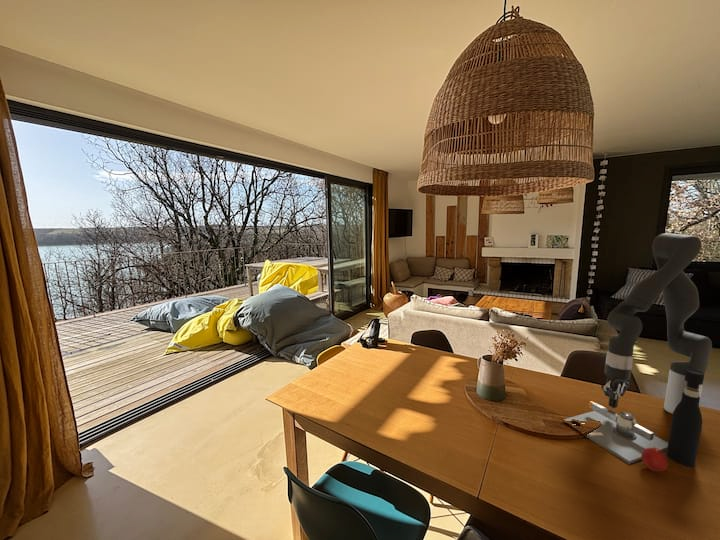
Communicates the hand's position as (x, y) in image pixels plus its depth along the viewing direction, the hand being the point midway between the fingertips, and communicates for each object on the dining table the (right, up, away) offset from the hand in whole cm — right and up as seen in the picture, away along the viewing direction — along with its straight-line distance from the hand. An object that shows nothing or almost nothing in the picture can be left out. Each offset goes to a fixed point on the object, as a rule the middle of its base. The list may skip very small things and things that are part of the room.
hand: (612, 406), depth 116 cm
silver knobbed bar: (-4, -5, -6) cm, 9 cm away
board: (-5, -7, -7) cm, 11 cm away
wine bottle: (+6, -9, -19) cm, 22 cm away
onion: (-7, -9, -23) cm, 26 cm away
